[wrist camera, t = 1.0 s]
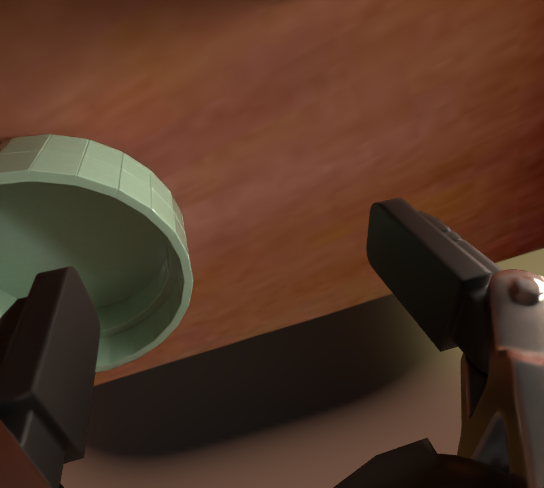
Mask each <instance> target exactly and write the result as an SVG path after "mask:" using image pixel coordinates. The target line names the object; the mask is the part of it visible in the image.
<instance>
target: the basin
mask: <svg viewBox="0 0 544 488" xmlns="http://www.w3.org/2000/svg"><path fill="white" fill-rule="evenodd" d="M70 266H72V267H74V268H75V269H76V270H77V272H78V274H79V276H80V278H81V280H82V282H83V284H84V286H85V288H86V290H87V292H88V294H89V296H90V298H91V300H92V302H93V304H94V306H95V308H96V311H97V313H98V317H99V321H100V340H99V347H98V355H97V362H96V370H95V373H97V372H102V371H106V370H110V369H113V368H116V367H118V366H121V365H123V364H125V363H128V362H130V361H133V360H135V359H138V358H140V357H141V356H143V355H144V354H146V353H147V352H149V351H150V350H152V349H153V348H155V347H156V346H158V345H159V344H161V343H162V342H163V341H164V340H165V339H166V338H167V337H168V336H169V335H170V334H171V333H172V332H173V330H174V329H175V328H176V327H177V326H178V325H179V323H180V321H181V319H182V317H183V315H184V313H185V312H186V310H187V308H188V306H189V304H190V298H191V292H192V287H193V276H192V270H191V264H190V258H189V252H188V246H187V240H186V234H185V228H184V222H183V217H182V213H181V211H180V209H179V207H178V205H177V204H176V202H175V200H174V198H173V196H172V194H171V192H170V191H169V190H168V189H167V187H166V186H165V185H164V184H163V183H162V182H161V181H160V180H159V179H158V178H157V177H156V176H155V174H154V173H153V172H152V171H150V170H149V169H148V168H146V167H145V166H143V165H142V164H140V163H139V162H137V161H136V160H134V159H133V158H131V157H130V156H128V155H127V154H125V153H123V152H121V151H119V150H116V149H113V148H111V147H108V146H105V145H103V144H100V143H97V142H94V141H92V140H88V139H82V138H75V137H68V136H61V135H53V134H52V135H51V134H46V135H35V136H24V137H14V138H11V139H8V140H5V141H3V142H0V319H1V316H2V315H3V314H4V313H5V312H6V311H7V310H8V309H9V308H10V307H11V306H12V305H13V303H14V302H15V301H16V300H17V299H19V298H23V297H28V294H29V292H30V289H31V287H32V284H33V281H34V279H35V276H36V275H37V274H38V273H41V272H46V271H51V270H55V269H60V268H65V267H70Z"/></svg>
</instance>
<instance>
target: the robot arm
mask: <svg viewBox="0 0 544 488" xmlns="http://www.w3.org/2000/svg"><path fill="white" fill-rule="evenodd" d="M366 249H367V256H368V260H369V262H370V265H371V266H372V268H373V269H374V270H375V272H376V273H377V274H378V275H379V277H380V278H381V279H382V280H383V281H384V283H385V284H386V285H387V286H388V288H389V289H390V290H391V291H392V293H393V294H394V295H395V296H396V297H397V299H398V300H399V301H400V302H401V304H402V305H403V306H404V307H405V309H406V310H407V311H408V312H409V314H410V315H411V316H412V317H413V318H414V320H415V321H416V322H417V323H418V325H419V326H420V327H421V328H422V330H423V331H424V332H425V333H426V334H427V336H428V337H429V338H430V339H431V341H432V342H433V343H434V344H435V346H436V347H437V348H438V349H439V351H440V352H441V351H444V350H448V349H451V348H455V347H459V348H460V349H461V350H462V352H463V355H462V358H461V413H462V414H461V415H462V416H461V417H462V427H461V437H460V442H459V447H458V453H457V455H448V454H437V453H436V451H435V449H434V448H433V446H432V444H431V443H430V441H429V440H428V438H425V439H422V440H419V441H416V442H414V443H411V444H408V445H405V446H402V447H399V448H397V449H393V450H390V451H388V452H385V453H382V454H379V455H376V456H375V457H374V458H372V459H371V460H369V461H368V462H367V463H365V464H364V465H363V466H361V468H359V469H357V470H356V471H355V472H354V473H352V474H351V475H350V476H348V477H347V478H346V479H344V480H343V481H342V482H340V483H339V484H338V485H336V486H335V487H334V488H544V277H542V276H540V275H538V274H535V273H532V272H528V271H524V270H516V269H511V270H502V269H501V268H500V267H499V266H497V265H496V264H495V263H494V262H492V261H491V260H490V259H489V258H487V257H486V256H485V255H483V254H482V253H481V252H480V251H478V250H477V249H476V248H475V247H473V246H472V245H471V244H469V243H468V242H467V241H466V240H462V237H461V236H459V235H458V234H457V233H456V232H454V231H451V229H450V228H449V227H448V226H447V225H445V224H444V223H443V222H442V221H440V220H439V219H438V218H436V217H433V216H431V215H428V214H426V213H424V212H421V211H417V210H415V209H414V208H413V207H412V206H410V205H409V204H408V203H407V202H406V201H404V200H403V199H401V198H396V199H391V200H386V201H381V202H377V203H374V204H373V205H372V206H371V209H370V217H369V227H368V237H367V248H366ZM99 340H100V321H99V317H98V313H97V311H96V308H95V306H94V304H93V302H92V300H91V298H90V296H89V294H88V292H87V290H86V288H85V286H84V284H83V282H82V280H81V278H80V276H79V274H78V272H77V270H76V269H75V268H74V267H72V266H70V267H65V268H60V269H55V270H51V271H46V272H41V273H38V274H37V275H36V276H35V279H34V281H33V284H32V287H31V289H30V292H29V294H28V297H23V298H19V299H17V300H16V301H15V302H14V303H13V305H12V306H11V307H10V308H9V309H8V310H7V311H6V312H5V313H4V314H3V315H2V316H1V319H0V488H64V487H63V486H62V485H61V484H60V481H61V475H62V469H63V464H65V463H68V462H71V461H75V460H78V459H81V458H84V452H85V444H86V437H87V430H88V422H89V414H90V407H91V400H92V392H93V385H94V377H95V370H96V362H97V355H98V347H99Z"/></svg>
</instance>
